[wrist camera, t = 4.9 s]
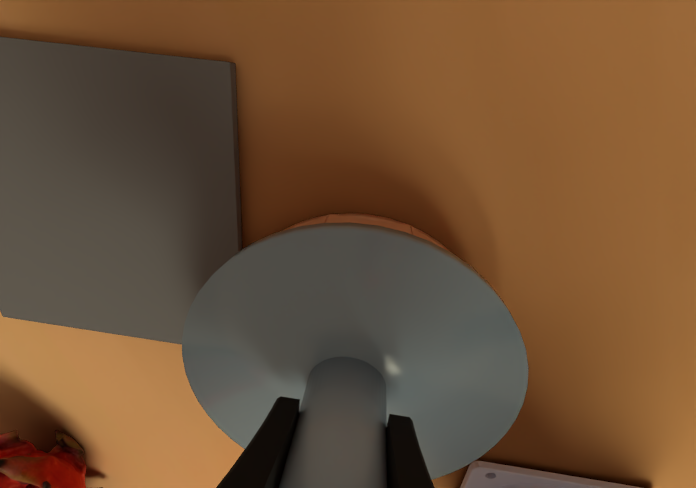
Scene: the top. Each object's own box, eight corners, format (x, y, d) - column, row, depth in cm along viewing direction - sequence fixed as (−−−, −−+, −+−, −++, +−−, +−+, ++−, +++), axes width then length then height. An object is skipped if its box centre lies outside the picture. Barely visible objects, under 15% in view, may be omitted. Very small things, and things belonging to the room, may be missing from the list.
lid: (567, 232, 9) (731, 355, 5) (484, 487, 14) (527, 654, 10) (156, 213, 10) (-10, 299, 6) (218, 456, 15) (155, 596, 11)
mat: (235, 63, 10) (230, 62, 10) (246, 347, 15) (242, 353, 15) (-106, 25, 11) (-123, 23, 11) (11, 311, 16) (3, 316, 16)
